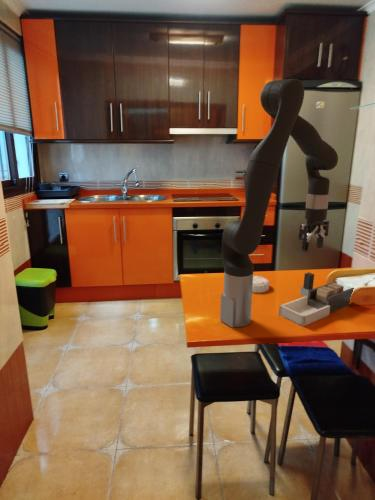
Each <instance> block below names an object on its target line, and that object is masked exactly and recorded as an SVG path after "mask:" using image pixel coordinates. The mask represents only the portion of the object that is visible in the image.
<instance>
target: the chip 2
mask: <svg viewBox="0 0 375 500" xmlns="http://www.w3.org/2000/svg"><path fill="white" fill-rule="evenodd" d="M331 283H332V282H331ZM328 284H329V283H328ZM327 288H330V289H333V290H334V294H333V295H335V294H337V293H340V292H343V291H344V289H345V287H344V285H341V284H339V283H337V284H336V283H332V284H329V285H327Z"/></svg>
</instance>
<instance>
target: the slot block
mask: <svg viewBox="0 0 375 500" xmlns="http://www.w3.org/2000/svg"><path fill="white" fill-rule="evenodd" d="M332 283H336V284H338V282H337V281H332V282H329V283H326V284H324V285H321V286H317V287H315V288H313V289H312V290H309V291H308V298H307V305H309V306H311V307H314V308H316V309H320V308H322V307H325V306H327V305H329V306H330V312H329V314H331V313H333V312H336V311H339V310H340V309H342V308H346V307H347V306H350V305H349V303H350V297H351V294H352V292H353V289H354V288H355V287H350V288H348V289H346V290H343V292H340V293H337V294H335V295H332V296H329V297H327V299H326V303H325V302H322V301H320V300H317V299H316V295H317V289H318V288H321V287H324V286H325V287H327V285H329V284H332Z"/></svg>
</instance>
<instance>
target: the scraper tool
mask: <svg viewBox="0 0 375 500" xmlns="http://www.w3.org/2000/svg"><path fill="white" fill-rule="evenodd" d="M314 280H315V274H314V273H312V272H306V273H304V278H303V285H302V286H300V291H299V294H300V295H301V296H302V297H305V296H307V297H308V291H309V290H312V289H314Z"/></svg>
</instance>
